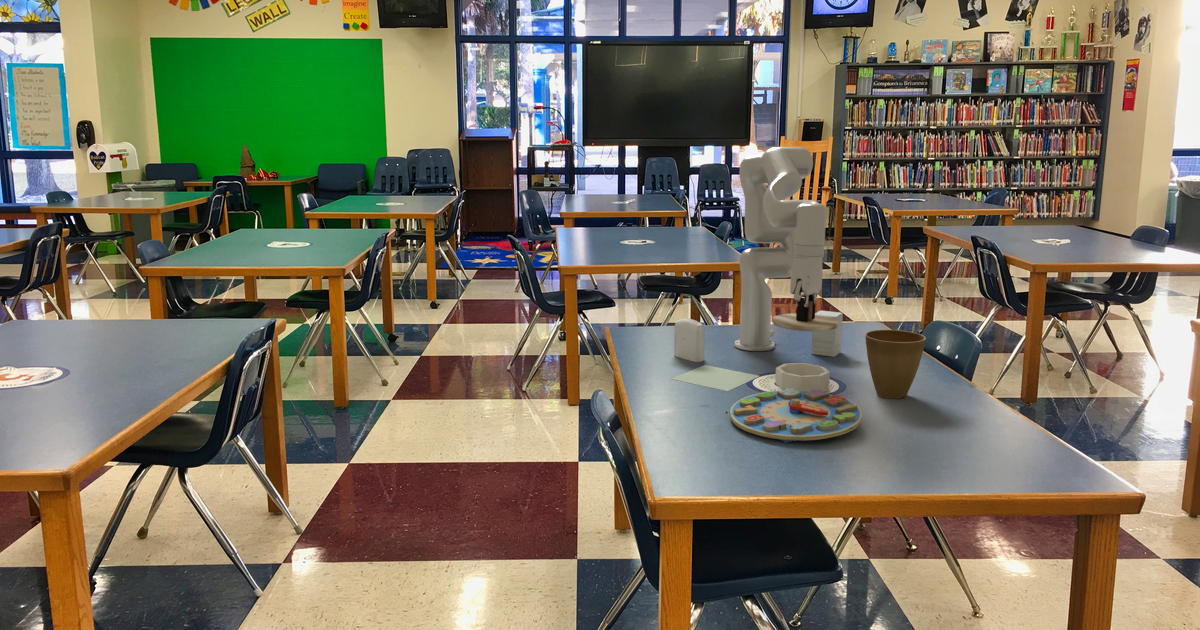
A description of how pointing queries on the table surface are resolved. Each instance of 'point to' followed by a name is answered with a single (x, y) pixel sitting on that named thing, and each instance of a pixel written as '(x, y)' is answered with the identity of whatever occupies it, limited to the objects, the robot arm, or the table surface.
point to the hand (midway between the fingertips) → (805, 319)
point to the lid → (812, 325)
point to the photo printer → (689, 340)
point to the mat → (715, 377)
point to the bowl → (802, 377)
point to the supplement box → (828, 337)
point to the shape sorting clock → (796, 414)
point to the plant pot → (893, 360)
